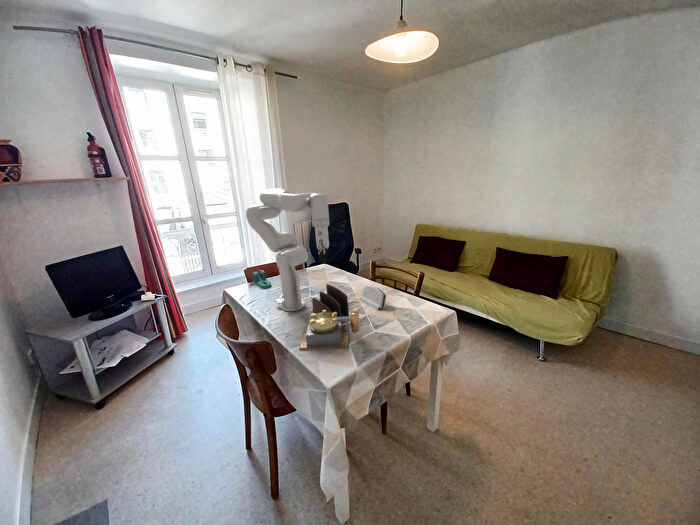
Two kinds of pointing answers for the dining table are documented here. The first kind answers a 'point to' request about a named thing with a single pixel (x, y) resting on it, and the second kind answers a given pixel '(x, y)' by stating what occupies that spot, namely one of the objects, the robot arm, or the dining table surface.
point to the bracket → (261, 280)
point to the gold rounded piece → (332, 321)
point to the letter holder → (332, 302)
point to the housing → (325, 338)
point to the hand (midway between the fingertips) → (323, 259)
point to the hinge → (373, 297)
